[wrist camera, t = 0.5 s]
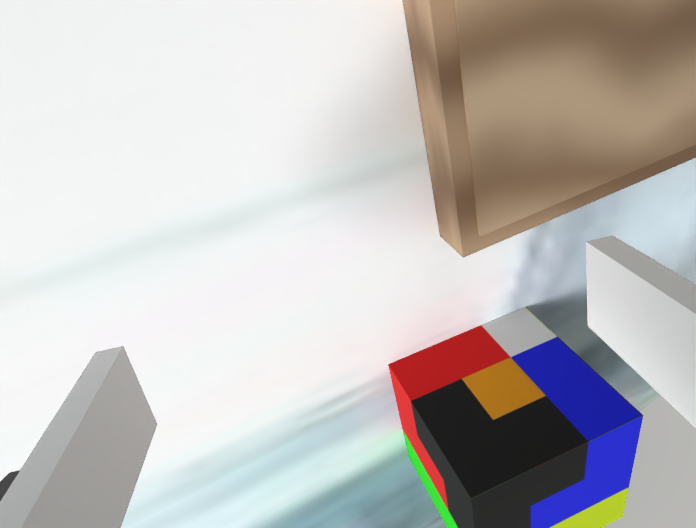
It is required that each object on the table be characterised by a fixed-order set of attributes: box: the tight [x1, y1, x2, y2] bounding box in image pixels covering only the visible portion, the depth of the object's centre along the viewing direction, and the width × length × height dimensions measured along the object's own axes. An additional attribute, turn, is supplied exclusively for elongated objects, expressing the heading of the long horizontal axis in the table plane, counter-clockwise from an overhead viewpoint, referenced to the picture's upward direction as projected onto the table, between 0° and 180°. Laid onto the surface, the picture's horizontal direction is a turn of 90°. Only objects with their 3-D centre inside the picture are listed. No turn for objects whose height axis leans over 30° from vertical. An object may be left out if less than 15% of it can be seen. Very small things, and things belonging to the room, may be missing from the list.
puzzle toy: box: [388, 307, 643, 528], centre depth 33 cm, size 10×10×10 cm
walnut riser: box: [403, 0, 696, 257], centre depth 24 cm, size 18×18×3 cm
